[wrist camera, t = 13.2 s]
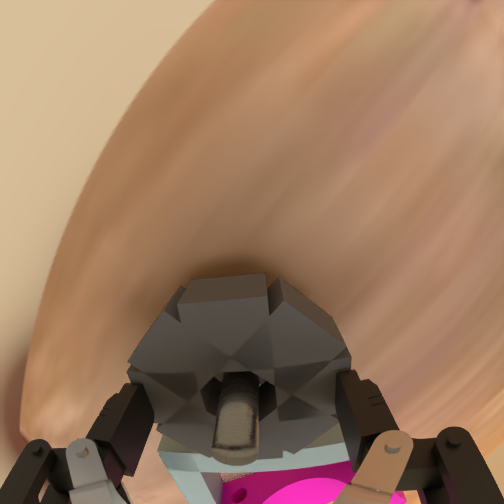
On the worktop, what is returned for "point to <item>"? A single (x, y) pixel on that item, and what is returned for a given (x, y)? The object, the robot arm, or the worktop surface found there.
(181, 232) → the worktop surface
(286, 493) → the toy block
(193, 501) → the grey u-shaped bracket
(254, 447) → the axle hub
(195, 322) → the wheel
